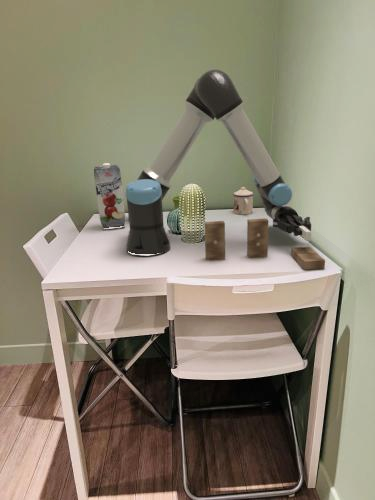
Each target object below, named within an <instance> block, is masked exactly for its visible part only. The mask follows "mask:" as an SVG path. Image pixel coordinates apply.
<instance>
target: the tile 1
mask: <svg viewBox="0 0 375 500" xmlns="http://www.w3.org/2000/svg"><path fill="white" fill-rule="evenodd" d="M204 246H205V247H204V249H205V260H210V261H225V260H226V222H225V221H224V220H217V221H214V220H213V221H204Z"/></svg>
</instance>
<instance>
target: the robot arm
mask: <svg viewBox="0 0 375 500" xmlns="http://www.w3.org/2000/svg"><path fill="white" fill-rule="evenodd" d="M184 103H185V109H184V111H183V113H182V114H181V116H180V118H179V119H178V121H177V122H176V124H175V125H174V127H173V129H172V130H171V132H170V134H169V136H168V137H167V138H166V140H165V142H164V144H163V145H162V147H161V149H160V150H159V152H158V153H157V155H156V156H155V159H154V160H153V161H152V163H151V165H150V166H149V167H146V168H143V170H142V171H141V173H140V174H139V176H138V178H137V179H136V180H133V181H130V182H129V183H127V185H126V187H125V197H126V205H127V213H128V214H127V215H128V224H129V231H128V237H127V240H126V251H127V250H128V251H129V252H131V253H135V254H157V253H162V252H165V251H167V250H168V249H169V248H170V249H171V241H170V239H169V236H168V234H167V232H166V229H165V225H164V212H163V200H164V198H165V196H166V195H167V194H168V192H169V190H170V188H171V186H172V185H171V179H172V178H173V176H174V175H175V173H176V172H177V169H178V168H179V167H180V165H181V163H183V160H184V159H185V157H186V156H187V154H188V152H189V151H190V150H191V148H192V146H193V145H194V144H195V142H196V140H197V139H198V137H199V135H200V134H201V133H202V131H203V129H204V127H205V126H206V124H207V123H211V122H213V121H214V120H215V119H216V121H219V122H221V123H222V125H223V127H224V128H225V130H226V132H227V133H228V135H229V136H230V138H231V140H232V142H233V144H235V146H236V147H237V150H238V151H239V153H240V155H241V156H242V158H243V160H244V162H245V163H246V165H247V167H248V169H249V170H250V171H251V173H252V174H253V182H254V186H255V187H256V189H257V191H258V194H259V195H260V198H261V200H262V203H263V205H264V211H265V214H266V215H267V216H268V217H269V218H271V219H272V227H273V228H277V229H279V230H280V231H283V232H285V233H286V234H292V233H293V236H294V237H297V236H300V238H302V239H303V241H305V242H308V241H309V242H310V241H311V240H312V239H311V238H312V223H311V217H310V216H306V217H302V216H299V214H298V212H297V211H296V210H295V209H293V207H292V206H290V205H288V203H290V202H291V200H292V197H293V191H292V189H291V187H290V186H289V184H286V182H285V181H284V179H283V177H282V175H281V173H280V172H279V170H278V168H277V167H276V164H275V163H274V161H273V160H272V158H271V156H270V155H269V152H268V150H267V149H266V146H265V145H264V143H263V142H262V139H261V138H260V137H259V135H258V133H257V131H256V129H255V127H254V126H253V124H252V123H251V120H250V119H249V117H248V115H247V113H246V112H245V110H244V108H243V106H244V100H243V99H242V98H241V96H240V94H239V92H238V90H237V88H236V86H235V84H234V82H233V80H232V79H231V77H230V75H228V73H226V72H225V71H223V70H220V69H210V70H207V71H206V72H204V73H203V74H202V75H201V76H200V77H198V78H197V80H196V81H195V83H194V85H193V88H192V90H191V91H190V93H189V95H188V96H187V98H186V99H185V101H184ZM170 249H169V250H170ZM167 252H168V251H167ZM165 253H166V252H165Z"/></svg>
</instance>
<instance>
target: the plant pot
mask: <svg viewBox="0 0 375 500" xmlns="http://www.w3.org/2000/svg"><path fill="white" fill-rule="evenodd" d="M179 196H180V195H173V196H172V197H171V200H172V202H173V205H174V210H175V209H177V208H178V207H179Z"/></svg>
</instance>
